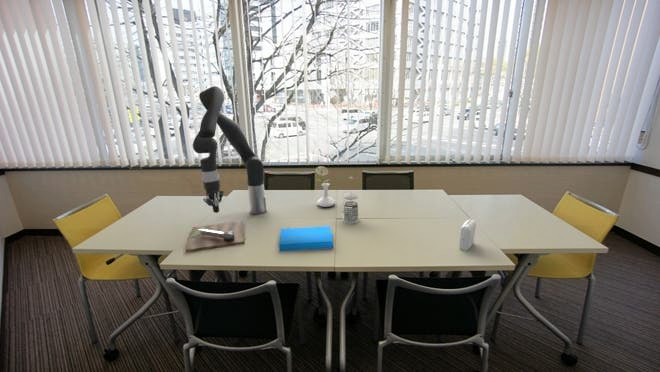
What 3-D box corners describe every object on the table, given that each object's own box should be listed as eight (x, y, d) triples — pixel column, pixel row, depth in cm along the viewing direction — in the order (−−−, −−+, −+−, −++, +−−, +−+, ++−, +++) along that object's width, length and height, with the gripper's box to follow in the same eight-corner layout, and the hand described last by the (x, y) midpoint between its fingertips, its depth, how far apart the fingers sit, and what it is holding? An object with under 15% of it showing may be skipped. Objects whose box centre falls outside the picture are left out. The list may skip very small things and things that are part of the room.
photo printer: (467, 251, 137) (470, 226, 133) (457, 248, 139) (460, 223, 136) (474, 243, 144) (477, 218, 140) (465, 240, 147) (468, 216, 143)
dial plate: (243, 223, 170) (243, 220, 170) (244, 244, 147) (244, 240, 147) (193, 229, 164) (192, 226, 163) (186, 252, 141) (185, 249, 140)
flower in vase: (338, 203, 195) (338, 165, 188) (328, 209, 186) (327, 169, 179) (321, 200, 202) (320, 163, 194) (311, 205, 193) (309, 167, 185)
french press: (363, 219, 172) (364, 176, 164) (350, 226, 164) (350, 181, 156) (349, 214, 179) (349, 173, 171) (336, 221, 171) (335, 177, 163)
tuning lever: (236, 237, 150) (235, 231, 149) (230, 242, 146) (229, 236, 145) (202, 232, 156) (202, 226, 156) (195, 236, 152) (194, 230, 151)
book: (280, 228, 155) (329, 225, 157) (281, 236, 156) (330, 232, 158) (278, 245, 139) (333, 240, 141) (279, 253, 140) (334, 249, 142)
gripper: (213, 175, 156) (218, 206, 162) (195, 182, 144) (201, 216, 150) (225, 175, 154) (230, 207, 159) (208, 183, 142) (214, 218, 147)
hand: (216, 212), depth 155 cm, fingers closed
